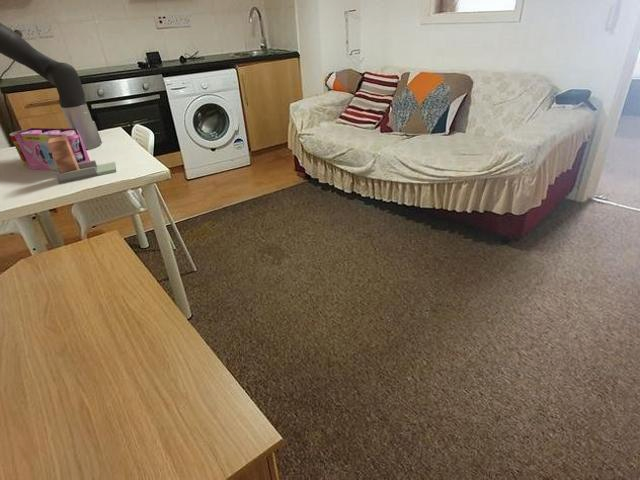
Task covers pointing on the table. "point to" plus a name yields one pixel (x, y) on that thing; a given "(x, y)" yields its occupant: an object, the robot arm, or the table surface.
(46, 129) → the gum box
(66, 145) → the block
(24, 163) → the canned food
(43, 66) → the robot arm
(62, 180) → the chute
